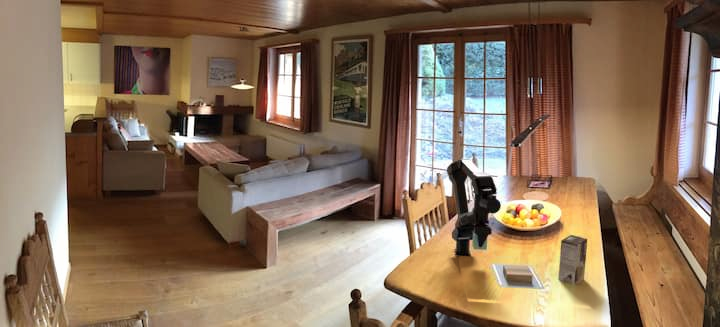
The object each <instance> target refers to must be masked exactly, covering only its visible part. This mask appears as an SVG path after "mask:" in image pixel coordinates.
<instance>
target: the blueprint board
mask: <svg viewBox="0 0 720 327" xmlns="http://www.w3.org/2000/svg"><path fill="white" fill-rule="evenodd" d="M490 265H491V270H492V272H493V274H494V277H495V280H496V282H497V286H498V287H500V288H502V287H504V288H517V289H520V288H521V289H539V290H546V287H545V286H544V284H543V283H542V281H541V278H540V277H539V276H538V274H537V273H536V271H535V269H534V268H533V265H529V264H527V265H526V264H516V265H517V266H528V268H529V270H530V271H531V273H532V275H533V278H532V283H520V282H507V281H506V279H505V276H504V274H503V265H511V264H507V263H490Z"/></svg>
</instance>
